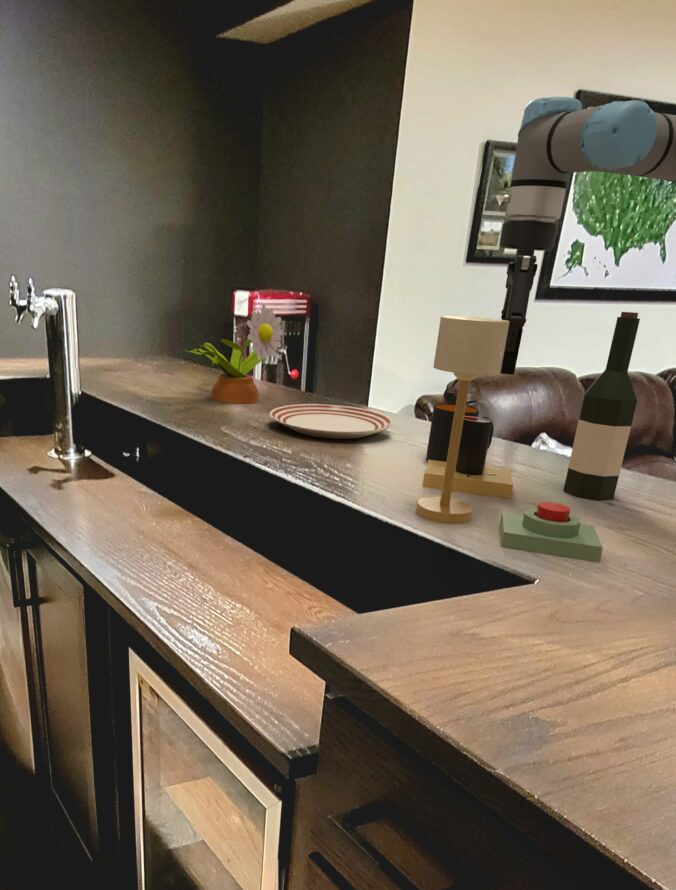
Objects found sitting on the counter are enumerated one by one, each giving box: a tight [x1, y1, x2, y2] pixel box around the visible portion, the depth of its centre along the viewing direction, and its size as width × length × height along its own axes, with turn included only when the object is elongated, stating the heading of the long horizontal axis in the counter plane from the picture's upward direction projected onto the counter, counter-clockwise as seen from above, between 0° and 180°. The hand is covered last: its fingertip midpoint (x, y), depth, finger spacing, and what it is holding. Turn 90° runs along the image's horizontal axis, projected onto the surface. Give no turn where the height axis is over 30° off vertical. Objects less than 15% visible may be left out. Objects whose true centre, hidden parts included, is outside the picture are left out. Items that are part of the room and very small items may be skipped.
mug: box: [425, 403, 495, 462], centre depth 138 cm, size 8×12×10 cm
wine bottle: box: [563, 311, 641, 501], centre depth 119 cm, size 8×8×30 cm
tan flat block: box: [422, 460, 514, 500], centre depth 124 cm, size 14×10×3 cm
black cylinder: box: [455, 416, 494, 475], centre depth 122 cm, size 5×5×9 cm
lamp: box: [415, 315, 510, 525], centre depth 103 cm, size 9×9×28 cm
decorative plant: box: [184, 303, 284, 404], centre depth 190 cm, size 27×24×25 cm
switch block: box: [498, 507, 604, 563], centre depth 98 cm, size 12×9×4 cm
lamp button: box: [536, 501, 571, 522], centre depth 97 cm, size 4×4×2 cm
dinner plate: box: [268, 403, 395, 440], centre depth 161 cm, size 28×27×3 cm
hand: (502, 368), depth 112 cm, fingers open, 13 cm apart
